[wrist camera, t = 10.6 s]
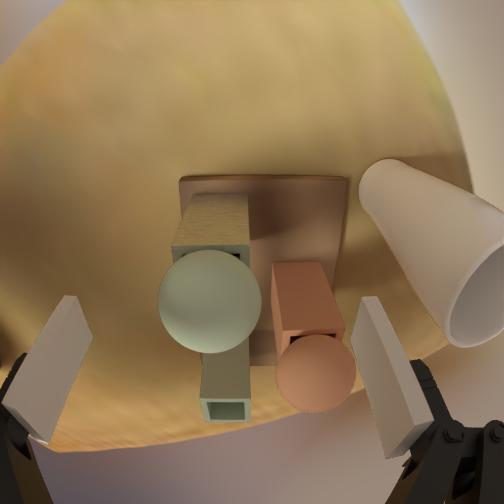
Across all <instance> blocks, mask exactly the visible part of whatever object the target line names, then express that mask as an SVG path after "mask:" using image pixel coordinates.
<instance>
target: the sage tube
mask: <svg viewBox="0 0 504 504" xmlns="http://www.w3.org/2000/svg"><path fill="white" fill-rule="evenodd" d="M200 403H201V407H202V411H203V415H204V419H205V422H251V393H250V363H249V336H248V337H247V338H246V339H245V340H244V341H243V342H241V343H240V344H239V345H237V346H236V347H234V348H232V349H229V350H227V351H224V352H219V353H204V359H203V368H202V378H201V388H200Z"/></svg>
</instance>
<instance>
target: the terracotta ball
mask: <svg viewBox="0 0 504 504" xmlns="http://www.w3.org/2000/svg"><path fill="white" fill-rule="evenodd" d="M355 378H356V366H355V361H354V359H353V356H352V354H351V352H350V351H349V350H348V348H347V347H346V346H345V345H344V344H343V343H342V342H340V341H339V340H337V339H335V338H333V337H330V336H327V335H320V334H314V335H308V336H304V337H302V338H299V339H297V340H296V341H294V342H293V343H292V344H290V345H289V346H288V347H287V348H286V349H285V351H284V352H283V353H282V355H281V357H280V358H279V361H278V364H277V368H276V382H277V386H278V389H279V391H280V393H281V395H282V396H283V398H284V399H285V400H286V401H287V402H288V403H289V404H290V405H292V406H293V407H295V408H297V409H299V410H302V411H306V412H323V411H327V410H330V409H332V408H334V407H336V406H337V405H339V404H340V403H341V402H343V401H344V399H345V398H346V397H347V396H348V395H349V393H350V392H351V390H352V388H353V386H354V382H355Z"/></svg>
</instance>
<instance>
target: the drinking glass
mask: <svg viewBox="0 0 504 504" xmlns="http://www.w3.org/2000/svg"><path fill="white" fill-rule="evenodd" d="M358 194H359V200H360V203H361V206H362V208H363V209H364V211H365V212H366V213H367V214H368V216H369V217H370V218H371V219H372V221H373V222H374V224H375V225H376V227H377V228H378V230H379V232H380V233H381V235H382V236H383V238H384V240H385V241H386V243H387V245H388V246H389V248H390V250H391V251H392V253H393V255H394V257H395V258H396V260H397V262H398V264H399V266H400V267H401V269H402V271H403V273H404V274H405V276H406V278H407V280H408V282H409V283H410V285H411V287H412V288H413V290H414V292H415V293H416V295H417V297H418V298H419V300H420V301H421V303H422V304H423V306H424V307H425V309H426V310H427V312H428V313H429V315H430V316H431V318H432V319H433V320H434V322H435V323H436V325H437V326H438V327H439V329H440V330H441V331H442V333H443V334H444V335H445V337H446V339H447V340H448V341H449V342H450V343H451V344H453V345H454V346H457V347H462V348H463V347H464V348H467V347H473V346H477V345H480V344H482V343H484V342H486V341H488V340H490V339H492V338H493V337H495V336H496V335H498V334H499V333H500V332H502V331H503V330H504V213H503V212H502V211H501V210H499V209H498V208H496V207H494V206H493V205H491V204H490V203H488V202H486V201H485V200H483V199H481V198H479V197H478V196H476V195H474V194H472V193H470V192H468V191H466V190H463V189H461V188H459V187H457V186H455V185H452V184H450V183H448V182H446V181H443V180H441V179H439V178H437V177H434V176H432V175H429V174H427V173H425V172H422V171H420V170H418V169H415V168H413V167H410V166H409V165H407V164H405V163H403V162H401V161H399V160H395V159H384V160H380V161H378V162H376V163H374V164H372V165H371V166H370V167H369V168H368V169H367V170H366V171H365V173H364V174H363V176H362V178H361V180H360V184H359V191H358Z"/></svg>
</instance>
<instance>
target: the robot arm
mask: <svg viewBox="0 0 504 504" xmlns="http://www.w3.org/2000/svg"><path fill="white" fill-rule="evenodd" d="M92 340H93V336H92V333H91V331H90V328H89V326H88V324H87V321H86V319H85V316H84V314H83V311H82V308H81V306H80V303H79V301H78V298H77V296H67V295H64V297H63V298H62V300H61V301H60V303H59V304H58V306H57V307H56V309H55V310H54V312H53V313H52V315H51V316H50V318H49V319H48V321H47V323H46V324H45V326H44V327H43V329H42V331H41V332H40V334H39V335H38V337H37V339H36V340H35V342H34V344H33V345H32V347H31V349H30V351H29V352H28V353H23V354H22V355H21V356H20V357H19V358H18V359H17V360H16V362H15V363H14V365H13V367H12V370H10V372H9V374H8V377H7V378H6V379H5V381H4V383H3V385H2V387H1V389H0V504H54V503H53V501H52V499H51V497H50V494H49V492H48V490H47V487H46V485H45V482H44V480H43V477H42V475H41V472H40V470H39V467H38V464H37V461H36V458H35V455H34V452H33V449H32V446H31V443H30V441H29V439H28V438H27V437H28V434H30V435H31V436H32V437H33V438H34V439H35V440H37V441H40V442H43V443H46V444H50V441H51V438H52V436H53V433H54V430H55V427H56V425H57V422H58V419H59V417H60V414H61V412H62V409H63V406H64V404H65V401H66V399H67V397H68V394H69V392H70V389H71V387H72V384H73V382H74V380H75V377H76V375H77V373H78V370H79V368H80V366H81V364H82V361H83V359H84V357H85V355H86V353H87V350H88V348H89V346H90V344H91V342H92ZM350 342H351V345H352V348H353V351H354V354H355V357H356V360H357V363H358V366H359V369H360V372H361V376H362V379H363V382H364V385H365V388H366V392H367V395H368V398H369V401H370V405H371V408H372V412H373V415H374V418H375V422H376V425H377V429H378V432H379V436H380V440H381V443H382V447H383V451H384V454H385V458H386V459H390V458H394V457H398V456H402V455H404V454H405V453H406V452H407V451H408V450H409V449H410V452H411V455H412V456H411V457H410V458H409V459H408V460H407V461H406V462H405V463H404V464H403V465H402V466H403V467H405V468H404V470H403V472H402V474H401V476H400V478H399V480H398V482H397V484H396V485H395V487H394V489H393V491H392V493H391V494H390V496H389V498H388V500H387V501H386V503H385V504H444V501H445V504H504V423H503V422H501V421H498V420H492V421H490V422H489V423H487V424H486V426H485V427H484V428H468V427H464V426H463V425H462V424H461V423H460V422H458V421H456V420H453V419H452V417H451V416H450V413H449V411H448V409H447V407H446V404H445V402H444V400H443V398H442V395H441V393H440V391H439V389H438V388H437V384H436V382H435V380H433V376H432V374H431V372H430V370H429V368H428V367H427V366H426V365H425V364H424V363H423V362H422V361H421V360H420V359H417V360H411V361H409V360H408V358H407V356H406V353H405V351H404V349H403V347H402V345H401V343H400V341H399V339H398V337H397V335H396V332H395V330H394V328H393V326H392V324H391V322H390V320H389V318H388V316H387V314H386V312H385V310H384V308H383V307H382V305H381V303H380V301H379V299H378V297H377V296H368V297H361V301H360V305H359V309H358V313H357V317H356V321H355V324H354V328H353V332H352V335H351V339H350Z"/></svg>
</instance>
